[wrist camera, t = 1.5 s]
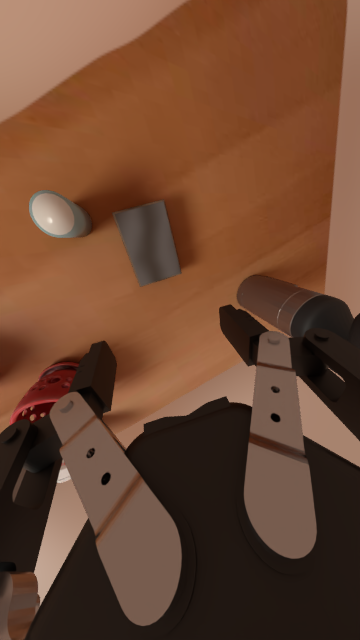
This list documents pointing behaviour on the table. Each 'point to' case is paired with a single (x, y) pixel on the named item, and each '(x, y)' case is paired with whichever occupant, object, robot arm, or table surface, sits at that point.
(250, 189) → the table surface
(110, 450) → the robot arm
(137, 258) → the dark grey slab
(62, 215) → the ceramic tumbler
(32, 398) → the plant pot
